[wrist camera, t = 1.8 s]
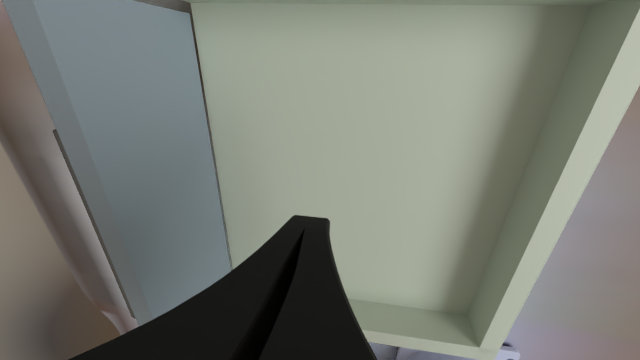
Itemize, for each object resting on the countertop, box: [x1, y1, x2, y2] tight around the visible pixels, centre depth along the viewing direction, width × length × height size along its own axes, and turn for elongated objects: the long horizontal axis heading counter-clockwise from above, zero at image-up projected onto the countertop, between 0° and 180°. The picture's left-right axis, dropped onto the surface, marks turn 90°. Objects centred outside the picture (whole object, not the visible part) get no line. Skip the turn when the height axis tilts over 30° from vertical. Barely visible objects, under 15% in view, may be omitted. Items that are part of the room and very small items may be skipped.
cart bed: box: [182, 0, 640, 360], centre depth 13 cm, size 18×16×4 cm
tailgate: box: [2, 0, 231, 326], centre depth 12 cm, size 15×2×6 cm, turn 178°
